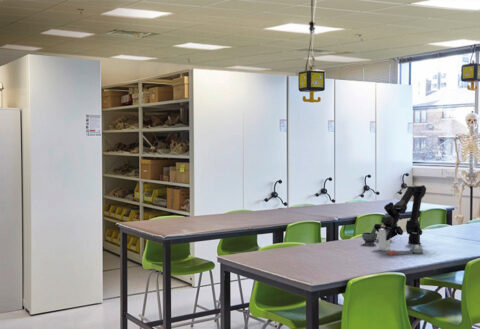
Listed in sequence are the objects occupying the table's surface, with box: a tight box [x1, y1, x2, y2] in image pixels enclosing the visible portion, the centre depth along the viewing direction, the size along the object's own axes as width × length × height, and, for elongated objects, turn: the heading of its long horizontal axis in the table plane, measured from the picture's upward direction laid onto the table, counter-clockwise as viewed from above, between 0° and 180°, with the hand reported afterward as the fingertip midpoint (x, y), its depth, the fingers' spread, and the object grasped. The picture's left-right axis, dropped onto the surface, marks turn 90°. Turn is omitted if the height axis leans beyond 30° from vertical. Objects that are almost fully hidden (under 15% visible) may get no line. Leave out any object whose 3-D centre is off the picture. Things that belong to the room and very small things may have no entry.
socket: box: [378, 228, 391, 252], centre depth 372 cm, size 5×5×13 cm
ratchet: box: [386, 244, 424, 256], centre depth 359 cm, size 23×7×5 cm, turn 104°
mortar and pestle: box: [361, 226, 378, 246], centre depth 395 cm, size 11×9×12 cm
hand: (382, 239), depth 371 cm, fingers closed on socket, 5 cm apart
